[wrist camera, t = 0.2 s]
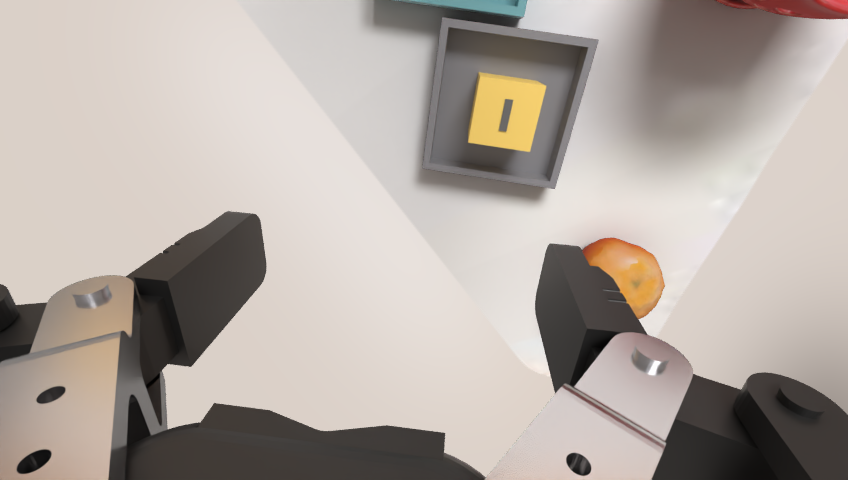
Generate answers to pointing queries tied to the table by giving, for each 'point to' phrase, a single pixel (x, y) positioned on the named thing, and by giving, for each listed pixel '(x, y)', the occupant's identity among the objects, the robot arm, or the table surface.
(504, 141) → the marked block
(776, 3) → the plant pot
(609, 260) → the fruit
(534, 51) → the tray
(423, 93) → the table surface
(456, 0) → the tray
